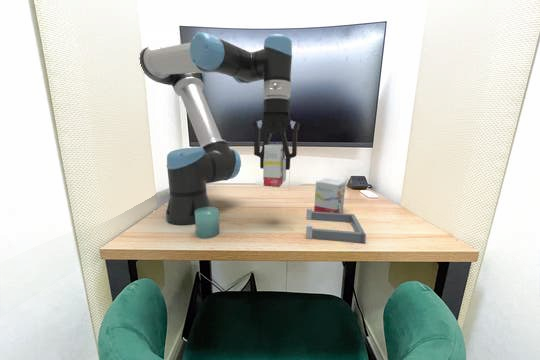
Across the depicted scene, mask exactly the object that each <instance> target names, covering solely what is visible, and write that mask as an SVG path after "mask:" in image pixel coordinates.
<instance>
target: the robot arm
mask: <svg viewBox="0 0 540 360" xmlns="http://www.w3.org/2000/svg"><path fill="white" fill-rule="evenodd" d="M292 47H293V46H292V40H291V38H290V37H288V35H286V34H281V33H272V34H268V35H267V36H266V37H265V39H264V42H263V48H262V49H260V50H256V51H253V52H250V51H248V50H246V49H243V48H242V47H239V46H237V45H235V44H233V43H230V42H228V41H225V40H224V39H222V38H219V37H218V36H217V35H215V34H210V33H206V32H202V31H198V32H196V33H195V35H194V36H193V37H192V38H191V42H186V43H182V44H176V45H171V46H165V47H160V46H157V45H152V46H147V47H145V48H143V49H142V50H141V51H140V53H139V55H140V58H139V57H138V60H139V59H140V64H141V67H142V69H143V71H144V72H143V71H142V72H143V74H145V76H146V77H147V78H149V79H151V80H152V81H154V82H155V83H159V84H163V85H168V86H172V88H173V91H174V92H175V95H177V96H179V97H180V99H181V100H182V103H183V105H184V108H185V111H186V113H187V116H188V118H189V121H190V124H191V125H192V128H193V131H194V133H195V136H196V139H197V141H198V144H199V146H197V147H195V146H194V147H184V148H179V149H174V150H171V151H170V152H168V154H167V155H166V168H167V179H168V186H169V187H168V188H169V200H168V204H167V207H166V211H165V217H166V218H165V219H166V220H165V221H166V222H168V223H169V224H173V225H176V226H177V225H183V226H186V225H194V224H196V223H195V210H197V209H199V208H202V207H213V206H212V203H211V201H210V199H209V196H208V193H207V184H211V183H216V182H217V183H218V182H222V181H228V180H231V179H234V178H236V177H237V176H238V174H239V173H240V170H241V166H242V160H241V156H240V154H239V152H238V151H237V150H235V149H233V148H231V147H230V146H229V143H228V142H227V140H225V139H222V137H221V133H220V132H219V129H218V127H217V124H216V121H215V120H214V117H213V115H212V113H211V112H212V111H211V110H210V107H209V104H208V102H207V100H206V98H205V95H204V93H203V89H204V85H205V82H206V78H205V77H206V75H205V74H206V73H217V74H218V73H219V74H223V75H226V76H229V77H232V78H233V79H234V81H236V82H237V83H238V84H250V83H252V82H253V83H254V82H258V81H263V98H264V100H263V104H262V105H263V107H262V108H263V109H262V111H263V112H262V113H263V114H262V116H261V119H260V120H257V121H253V122H252V126H253V130H254V137H253V139H254V140H253V141H254V144H253V155H254V156H255V157H259V159H260V160H259V161H260V162H259V167H260V169H263V170H262V171H263V173H262V175H263V176H262V180H263V181H264V145H270V140H271V137H272V135H273V134H275V133H277V134H279V135H280V137H281V142H282V145H283V148H284V152H285V158H284V159H283V178H282V181H284V182H286V180H287V170H288V171H289V170H290V169H291V159H293V158H296V157H297V154H298V152H297V151H298V147H297V146H298V130H299V127H300V122H298V121H297V122H296V121H293V120H292V119H291V116H290V114H291V113H290V112H291V111H290V110H291V109H290V107H291V101H290V98H291V85H292V81H291V76H292V61H293V59H292V58H293V54H292V53H293V51H292V50H293V49H292ZM140 64H139V65H140ZM141 67H140V68H141ZM142 69H141V70H142ZM262 125H263V126H264V128H265V130H266V131H265V136H264V139H263V143H262V147H261V129H262V127H263V126H262ZM289 126H290V128H291V129H292V135H291V136H292V137H291V139H292V140H291V141H292V142H291V143H292V144H291V152H290V146H289V144H288V139H287V133H286V130H287V129H288V127H289Z"/></svg>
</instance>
